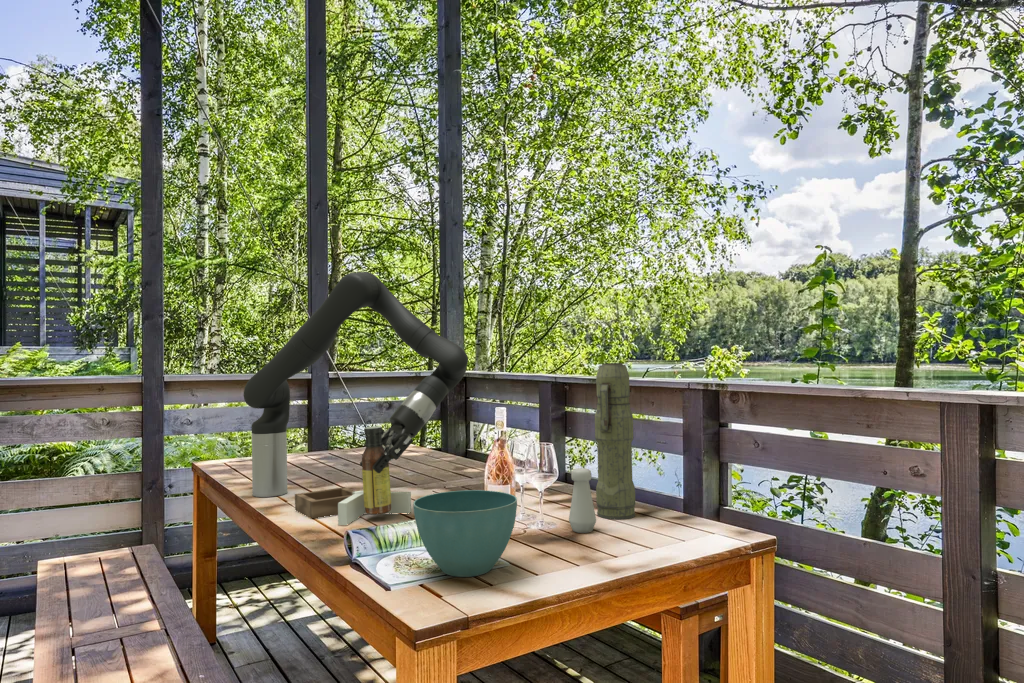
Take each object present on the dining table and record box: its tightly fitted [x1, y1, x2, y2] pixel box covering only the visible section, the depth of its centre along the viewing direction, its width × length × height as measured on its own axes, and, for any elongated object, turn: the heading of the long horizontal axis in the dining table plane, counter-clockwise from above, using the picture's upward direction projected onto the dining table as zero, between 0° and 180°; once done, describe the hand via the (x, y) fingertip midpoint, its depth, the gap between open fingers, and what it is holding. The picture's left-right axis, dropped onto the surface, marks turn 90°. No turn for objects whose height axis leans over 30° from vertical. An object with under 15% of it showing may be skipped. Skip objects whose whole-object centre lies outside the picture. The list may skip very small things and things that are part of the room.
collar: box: [294, 486, 356, 519], centre depth 168 cm, size 12×13×4 cm
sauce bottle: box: [361, 425, 392, 516], centre depth 158 cm, size 7×6×20 cm
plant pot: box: [412, 489, 518, 578], centre depth 119 cm, size 18×18×12 cm
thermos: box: [594, 362, 636, 520], centre depth 157 cm, size 9×12×35 cm
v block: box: [337, 489, 412, 526], centre depth 161 cm, size 11×18×5 cm, turn 127°
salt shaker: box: [568, 467, 597, 534], centre depth 144 cm, size 6×6×13 cm
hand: (369, 468), depth 157 cm, fingers closed on sauce bottle, 6 cm apart
